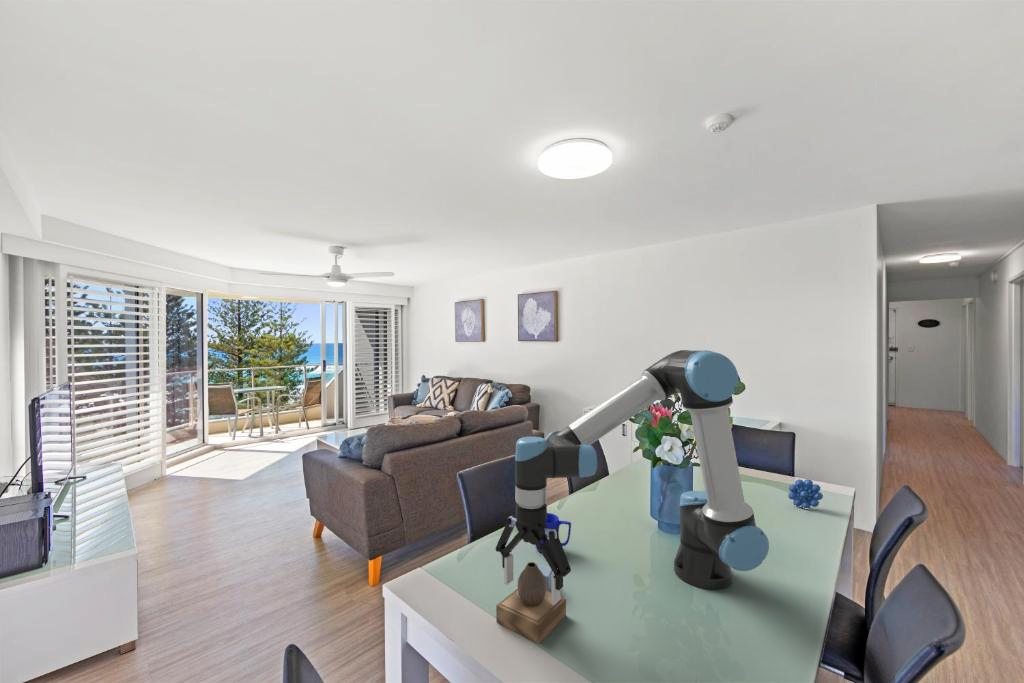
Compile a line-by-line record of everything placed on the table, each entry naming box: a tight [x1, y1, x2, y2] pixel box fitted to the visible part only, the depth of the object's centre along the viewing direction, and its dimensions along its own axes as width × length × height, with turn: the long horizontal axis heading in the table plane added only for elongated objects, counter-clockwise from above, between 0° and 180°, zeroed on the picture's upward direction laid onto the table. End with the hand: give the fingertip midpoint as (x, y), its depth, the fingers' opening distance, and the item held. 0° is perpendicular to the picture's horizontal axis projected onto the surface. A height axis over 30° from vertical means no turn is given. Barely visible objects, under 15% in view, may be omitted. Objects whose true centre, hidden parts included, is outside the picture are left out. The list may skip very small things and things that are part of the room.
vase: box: [517, 561, 546, 606], centre depth 103 cm, size 7×7×9 cm
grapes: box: [787, 478, 824, 509], centre depth 169 cm, size 12×7×12 cm, turn 41°
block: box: [537, 564, 553, 593], centre depth 115 cm, size 5×5×5 cm
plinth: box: [495, 588, 567, 644], centre depth 103 cm, size 12×12×4 cm
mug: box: [534, 512, 572, 553], centre depth 137 cm, size 8×12×10 cm
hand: (531, 591), depth 103 cm, fingers open, 13 cm apart
